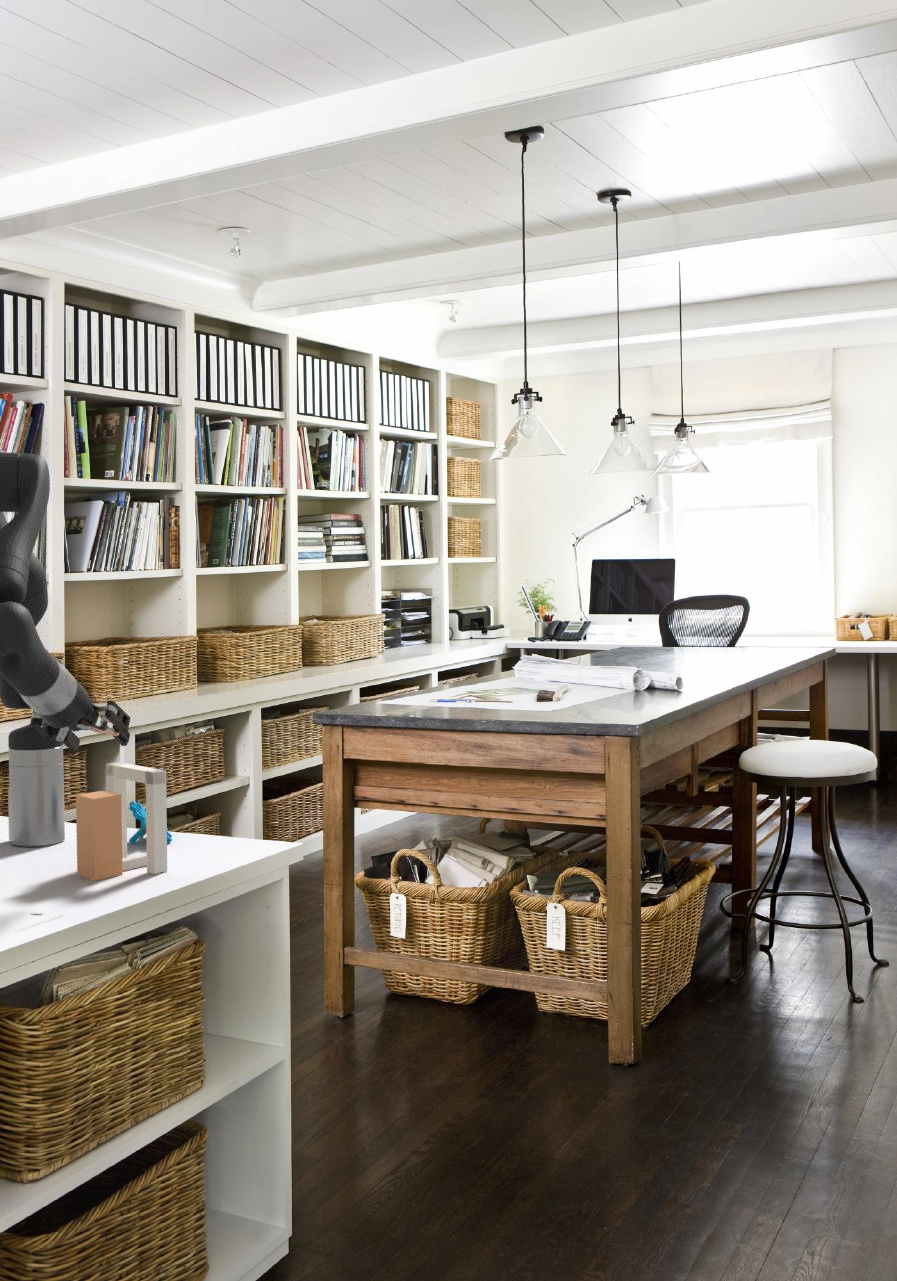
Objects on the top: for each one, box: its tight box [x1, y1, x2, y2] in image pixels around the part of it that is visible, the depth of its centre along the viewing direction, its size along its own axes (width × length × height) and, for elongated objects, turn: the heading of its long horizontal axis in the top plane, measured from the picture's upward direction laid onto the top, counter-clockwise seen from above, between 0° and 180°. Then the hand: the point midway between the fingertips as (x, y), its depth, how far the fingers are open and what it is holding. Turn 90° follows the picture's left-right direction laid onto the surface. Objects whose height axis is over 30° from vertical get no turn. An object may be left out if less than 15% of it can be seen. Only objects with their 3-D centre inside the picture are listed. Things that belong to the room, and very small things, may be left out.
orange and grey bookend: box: [75, 790, 147, 882], centre depth 187 cm, size 5×14×13 cm, turn 140°
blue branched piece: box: [128, 800, 173, 844], centre depth 206 cm, size 11×6×10 cm
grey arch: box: [105, 761, 168, 875], centre depth 189 cm, size 13×2×16 cm, turn 50°
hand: (101, 743), depth 185 cm, fingers open, 8 cm apart
